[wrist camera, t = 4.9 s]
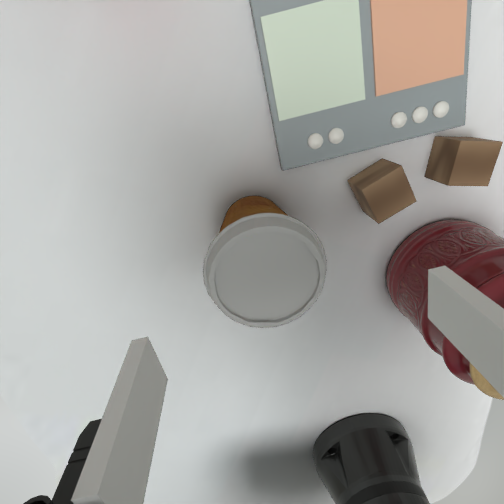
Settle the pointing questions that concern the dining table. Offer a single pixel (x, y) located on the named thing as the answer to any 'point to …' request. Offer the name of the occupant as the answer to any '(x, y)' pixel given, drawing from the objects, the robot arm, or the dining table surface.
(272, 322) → the disposable coffee cup
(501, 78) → the dining table surface
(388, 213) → the walnut block
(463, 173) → the walnut block
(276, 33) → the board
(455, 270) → the canister
